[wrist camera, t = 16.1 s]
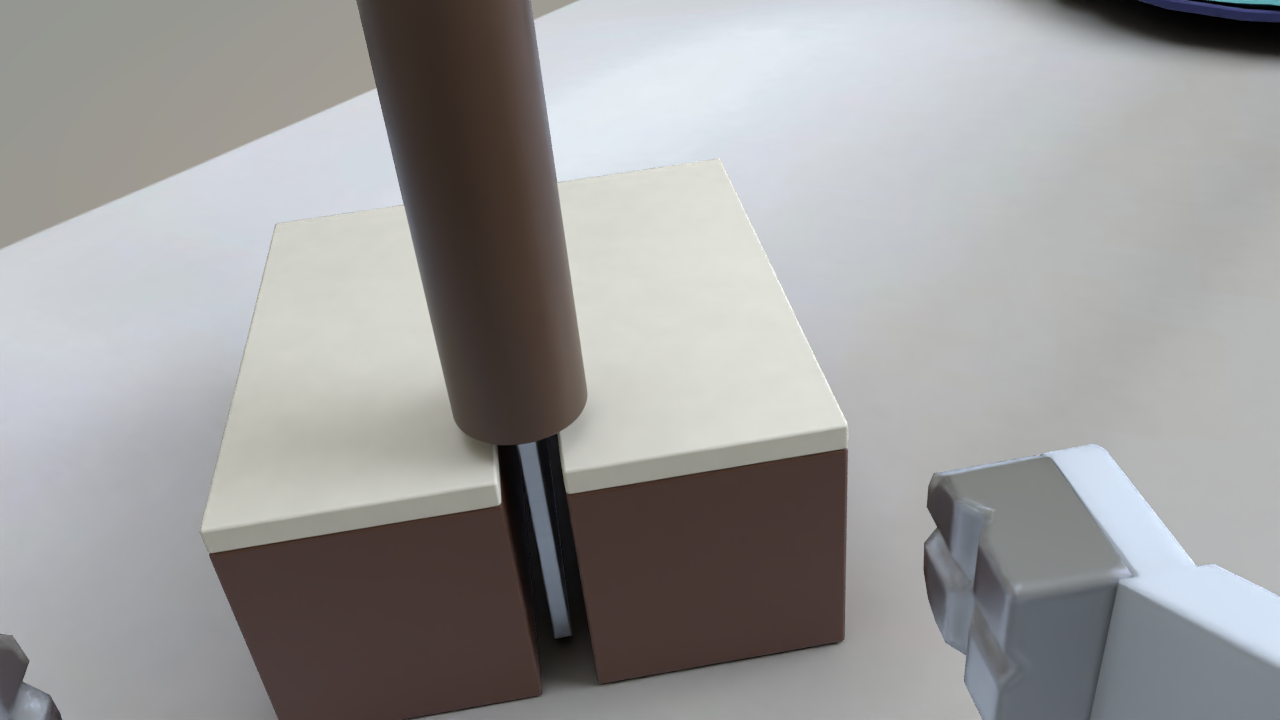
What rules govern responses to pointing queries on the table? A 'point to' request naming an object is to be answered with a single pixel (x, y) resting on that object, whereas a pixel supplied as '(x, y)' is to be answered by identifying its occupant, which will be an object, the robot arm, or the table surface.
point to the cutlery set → (1226, 8)
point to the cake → (491, 474)
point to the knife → (486, 230)
